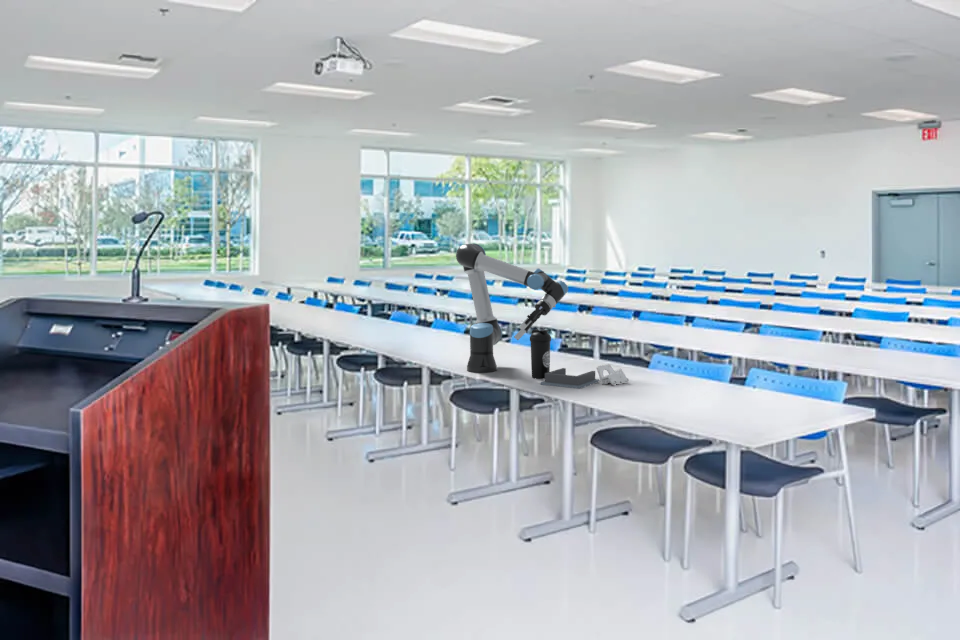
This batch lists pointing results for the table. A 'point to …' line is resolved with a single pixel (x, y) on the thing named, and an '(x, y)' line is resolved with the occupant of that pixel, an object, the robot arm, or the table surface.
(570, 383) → the walled base tray
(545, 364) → the water bottle
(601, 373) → the mounting bracket
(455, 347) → the table surface
